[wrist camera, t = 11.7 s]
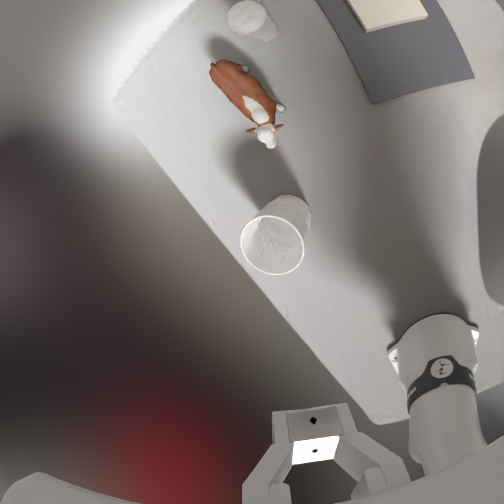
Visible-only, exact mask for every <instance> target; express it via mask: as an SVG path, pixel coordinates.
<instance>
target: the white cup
mask: <svg viewBox="0 0 504 504" xmlns="http://www.w3.org/2000/svg"><path fill="white" fill-rule="evenodd" d="M311 217H312V214H311V212H310V209H309V207H308V205H307V204H306V203H305V202H304V201H303V200H302V199H301V198H299V197H296V196H293V195H281V196H279V197H277V198H275V199H274V200H272V201H271V202H270V203H268V204H267V205H266V206H265V207H264V208H263V209H261V210H260V211H259V212H258V213H257V214H256V215H255V216H254V217H253V218H252V219H251V220H250V221H249V222H248V223H247V224H246V225H245V226H244V228H243V230H242V232H241V236H240V246H241V250H242V253H243V255H244V257H245V258H246V260H247V261H248V262H249V263H250V264H251V265H252V266H253V267H255V268H256V269H258V270H259V271H261V272H264V273H267V274H271V275H282V274H286V273H289V272H291V271H293V270H294V269H295V268H297V267H298V266H299V264H300V263H301V261H302V259H303V256H304V253H305V249H306V245H307V241H308V237H309V232H310V226H311Z"/></svg>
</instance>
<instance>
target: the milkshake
mask: <svg viewBox="0 0 504 504" xmlns="http://www.w3.org/2000/svg"><path fill="white" fill-rule="evenodd" d="M226 20H227V24H228V26H229V28H230V29H231V30H233V31H234V32H236V33H239V34H243V35H246V36H250V37H252V38H255V39H257V40H260V41H263V42H268V41H272V40H273V39H274V38H275V37H276V36H277V35H278V28H277V27H276V25H275V24H274V23H273V21H272V20H271V19H270V17H269V15H268V14H267V12H266V10H265V9H264V7H263V6H262V5H261V4H260V0H257V2H255V1H252V0H245V1H241V2H238V3H236V4H235V5H234V6H232V7H231V8H230V10H229V11H228V13H227V15H226Z"/></svg>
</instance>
